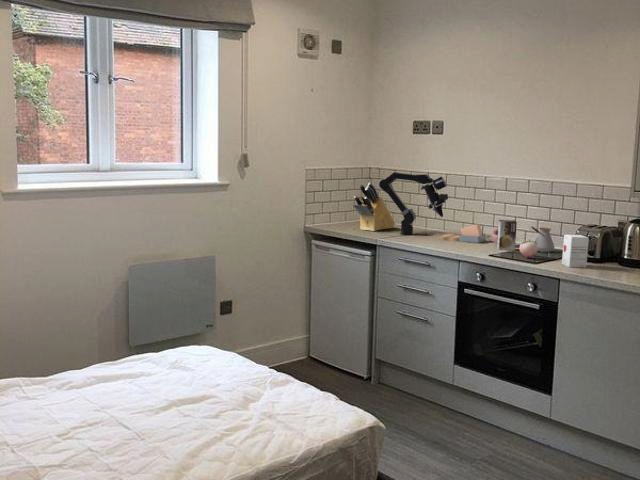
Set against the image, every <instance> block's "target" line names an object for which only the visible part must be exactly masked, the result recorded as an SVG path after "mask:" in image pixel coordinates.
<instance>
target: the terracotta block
mask: <svg viewBox="0 0 640 480" xmlns="http://www.w3.org/2000/svg"><path fill="white" fill-rule="evenodd" d="M460 232H461V235H469V236H481V235H483V234H484V233H483V231H482V226H481V224H480V223H476V224H473V225H468V226H464V227H461V228H460Z"/></svg>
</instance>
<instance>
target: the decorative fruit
mask: <svg viewBox="0 0 640 480" xmlns="http://www.w3.org/2000/svg"><path fill="white" fill-rule="evenodd" d="M534 242H535V240H531V239H529V240H523V241H521V242H520V245H519V252H520V253H521V255H522V256H524V257H525V258H526V257H527V258H526V259H530V258H532V257H534V256H535V255H536V254H537V253H538V252H537V251H538V246H537V245H536V244H537V243H536V242H535V243H534Z"/></svg>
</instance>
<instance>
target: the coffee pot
mask: <svg viewBox="0 0 640 480" xmlns="http://www.w3.org/2000/svg"><path fill="white" fill-rule="evenodd" d="M530 228H531V229H530ZM528 230H531V231H532V230H534V231H535V232H537V233H538V234H537V236H536V239H535V240H534V243H535V242H536V243H537V244H536V245H537V246H538V251H540V252H539V253H543V252H549V253H551V252H552V251H554V249H555V244H554V241H553V238H552V235H551V230H552V228H549V227H539V228H538V229H537V228H535V227H533V226H530V227H529V229H528Z"/></svg>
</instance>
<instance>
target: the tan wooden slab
mask: <svg viewBox="0 0 640 480" xmlns="http://www.w3.org/2000/svg"><path fill="white" fill-rule="evenodd" d="M459 235H460V234H454V233H443V234H441V235H439V236H438V240H439V241H440V240H442V241H449V242H451V241H452V242H459Z"/></svg>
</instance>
